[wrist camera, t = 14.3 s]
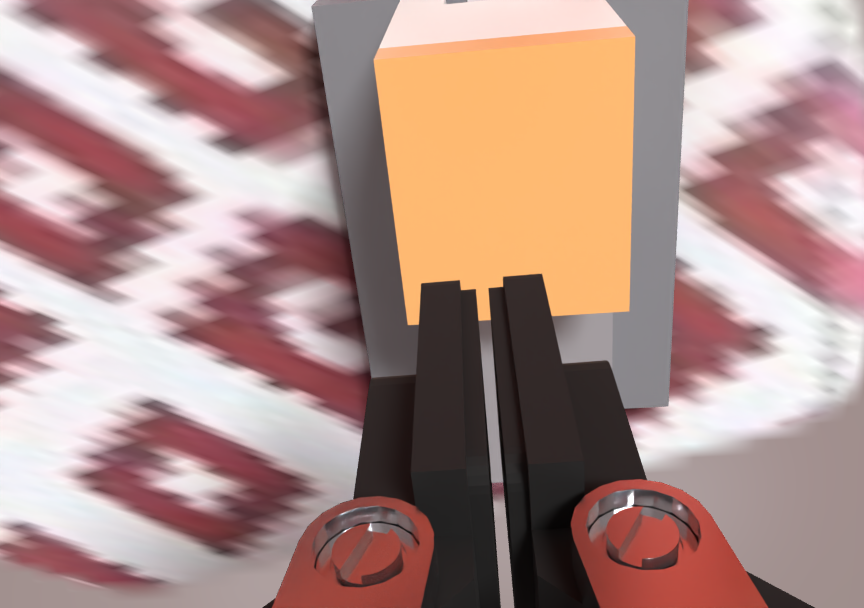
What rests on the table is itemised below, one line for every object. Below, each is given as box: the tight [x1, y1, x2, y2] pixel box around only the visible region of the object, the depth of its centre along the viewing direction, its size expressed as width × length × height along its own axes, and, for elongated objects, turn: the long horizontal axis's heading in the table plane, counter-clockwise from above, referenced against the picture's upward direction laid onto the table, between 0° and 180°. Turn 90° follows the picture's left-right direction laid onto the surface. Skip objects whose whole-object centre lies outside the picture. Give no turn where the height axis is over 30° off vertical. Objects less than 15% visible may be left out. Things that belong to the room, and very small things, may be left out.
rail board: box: [312, 0, 688, 483], centre depth 24 cm, size 10×14×6 cm
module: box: [374, 0, 635, 325], centre depth 20 cm, size 5×6×7 cm
